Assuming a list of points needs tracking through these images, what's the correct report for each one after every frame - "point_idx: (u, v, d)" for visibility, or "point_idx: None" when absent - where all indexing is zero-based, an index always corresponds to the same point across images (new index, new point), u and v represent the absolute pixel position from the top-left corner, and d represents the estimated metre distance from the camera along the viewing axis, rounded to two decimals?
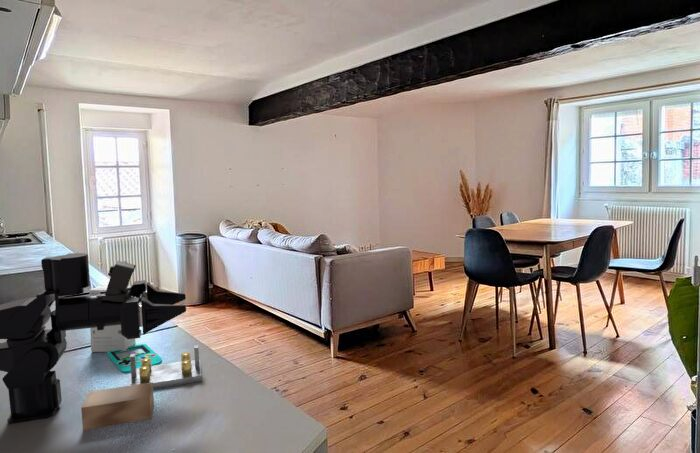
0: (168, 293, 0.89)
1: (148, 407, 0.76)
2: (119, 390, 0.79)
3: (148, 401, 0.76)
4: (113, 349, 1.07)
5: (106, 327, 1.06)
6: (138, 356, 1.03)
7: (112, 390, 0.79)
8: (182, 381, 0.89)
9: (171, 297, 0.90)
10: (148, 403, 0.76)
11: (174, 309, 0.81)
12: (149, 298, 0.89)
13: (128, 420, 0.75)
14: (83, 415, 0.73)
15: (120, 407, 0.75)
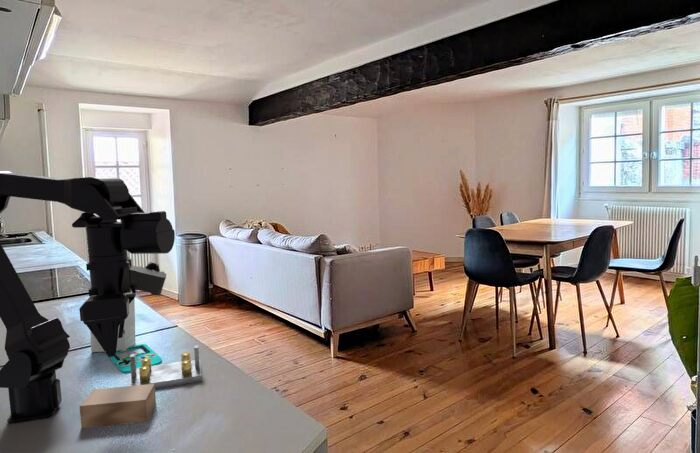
0: (123, 320, 0.81)
1: (144, 409, 0.75)
2: (120, 390, 0.79)
3: (144, 403, 0.75)
4: None
5: None
6: (138, 356, 1.03)
7: (114, 390, 0.79)
8: (182, 381, 0.89)
9: None
10: (144, 405, 0.75)
11: (112, 345, 0.71)
12: None
13: (125, 421, 0.75)
14: (81, 413, 0.74)
15: (117, 408, 0.74)
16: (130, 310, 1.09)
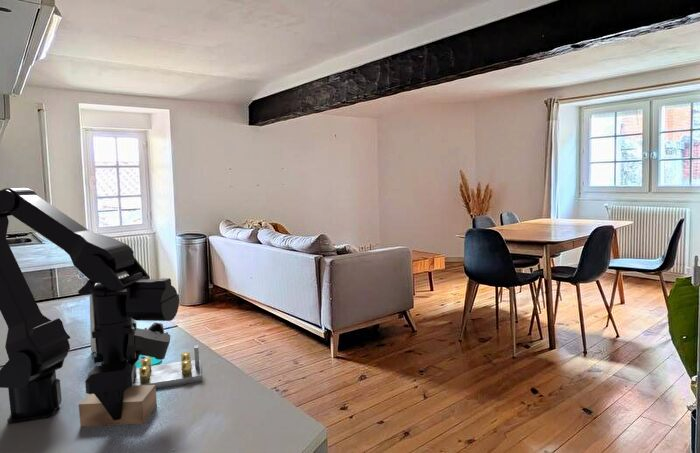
0: None
1: (141, 411, 0.75)
2: None
3: (141, 405, 0.75)
4: None
5: None
6: None
7: None
8: (182, 381, 0.89)
9: None
10: (141, 407, 0.75)
11: (117, 410, 0.73)
12: None
13: (122, 421, 0.75)
14: (80, 411, 0.74)
15: None
16: None
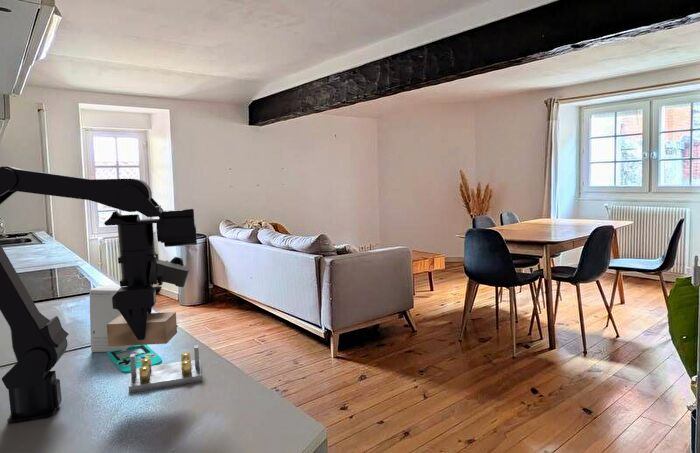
0: (150, 311, 0.87)
1: (164, 331, 0.81)
2: None
3: (164, 325, 0.81)
4: (113, 349, 1.07)
5: (106, 327, 1.06)
6: (138, 356, 1.03)
7: None
8: (182, 381, 0.89)
9: None
10: (164, 327, 0.81)
11: (141, 330, 0.80)
12: None
13: (146, 340, 0.81)
14: (108, 331, 0.80)
15: None
16: None
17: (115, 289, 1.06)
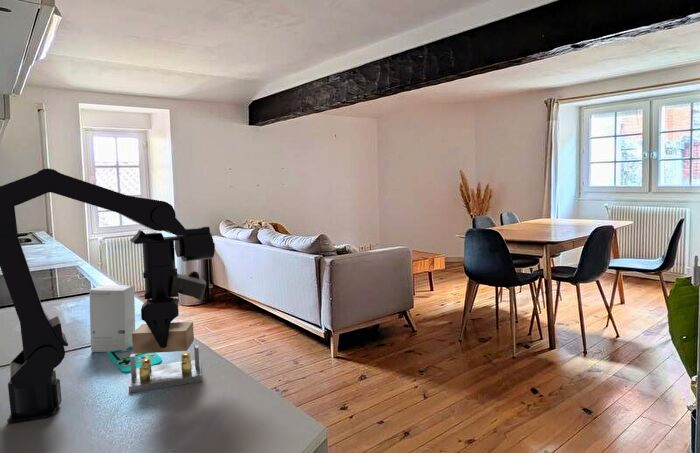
0: None
1: (184, 339, 0.89)
2: None
3: (185, 334, 0.89)
4: (113, 349, 1.07)
5: (106, 327, 1.06)
6: (138, 356, 1.03)
7: None
8: (182, 381, 0.89)
9: None
10: (185, 336, 0.89)
11: (164, 338, 0.87)
12: None
13: (168, 348, 0.88)
14: (133, 340, 0.88)
15: None
16: (130, 310, 1.09)
17: (115, 289, 1.06)
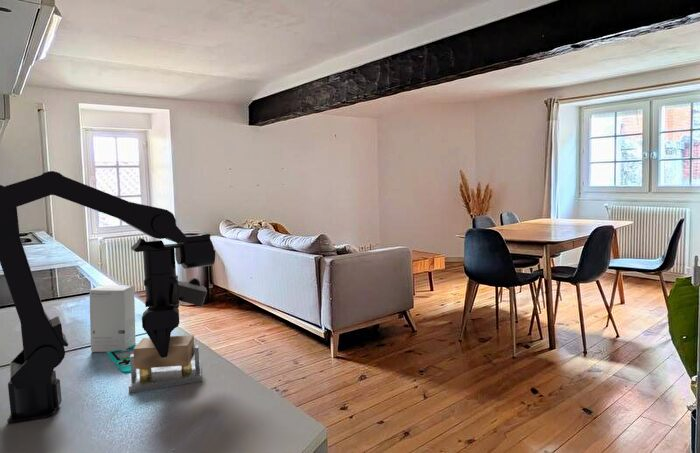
0: None
1: (186, 354, 0.89)
2: None
3: (186, 348, 0.89)
4: (113, 349, 1.07)
5: (106, 327, 1.06)
6: None
7: None
8: (182, 381, 0.89)
9: None
10: (186, 350, 0.89)
11: (164, 348, 0.86)
12: None
13: (170, 363, 0.89)
14: (134, 355, 0.88)
15: None
16: (130, 310, 1.09)
17: (115, 289, 1.06)
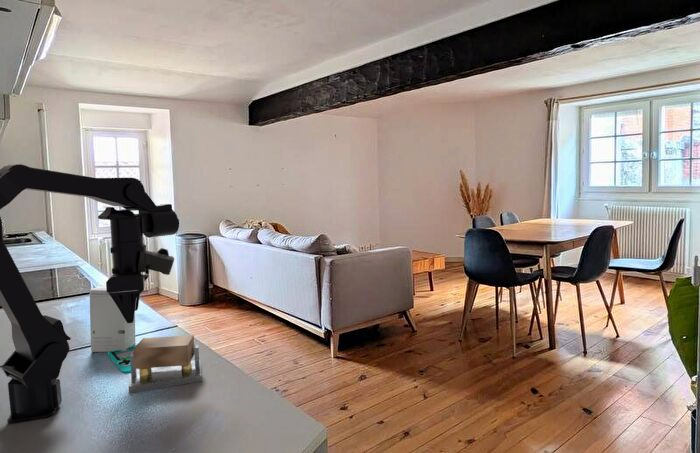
0: (138, 295, 0.98)
1: (186, 354, 0.89)
2: (165, 339, 0.93)
3: (186, 348, 0.89)
4: (113, 349, 1.07)
5: (106, 327, 1.06)
6: None
7: (160, 338, 0.93)
8: (182, 381, 0.89)
9: None
10: (186, 350, 0.89)
11: (130, 314, 0.88)
12: None
13: (170, 363, 0.89)
14: (134, 355, 0.88)
15: (163, 351, 0.88)
16: None
17: None
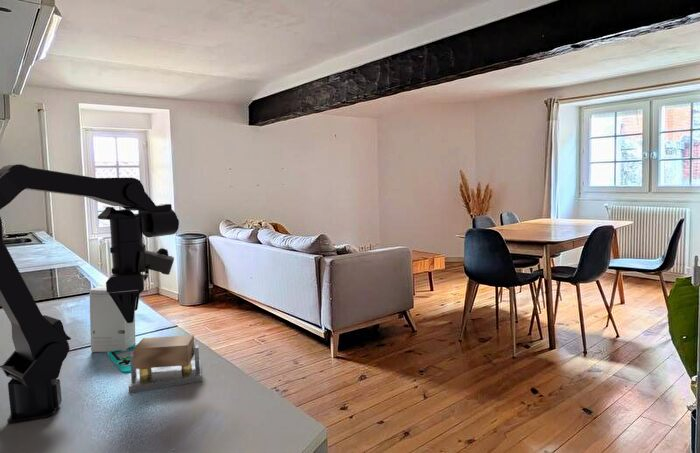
0: (138, 295, 0.98)
1: (186, 354, 0.89)
2: (165, 339, 0.93)
3: (186, 348, 0.89)
4: (113, 349, 1.07)
5: (106, 327, 1.06)
6: None
7: (160, 338, 0.93)
8: (182, 381, 0.89)
9: None
10: (186, 350, 0.89)
11: (130, 314, 0.88)
12: None
13: (170, 363, 0.89)
14: (134, 355, 0.88)
15: (163, 351, 0.88)
16: None
17: None
